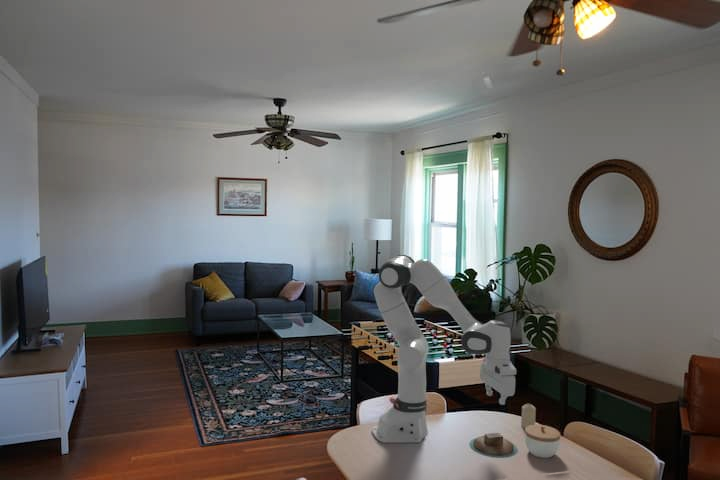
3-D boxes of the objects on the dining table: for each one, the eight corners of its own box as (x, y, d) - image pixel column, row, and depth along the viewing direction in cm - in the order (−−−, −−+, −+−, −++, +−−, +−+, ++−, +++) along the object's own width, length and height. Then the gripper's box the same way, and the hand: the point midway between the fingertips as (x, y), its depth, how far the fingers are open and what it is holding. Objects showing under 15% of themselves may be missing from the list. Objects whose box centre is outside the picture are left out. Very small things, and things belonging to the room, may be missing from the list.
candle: (535, 431, 230) (536, 407, 229) (521, 429, 231) (522, 406, 231) (534, 426, 236) (535, 402, 235) (520, 424, 237) (521, 401, 236)
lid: (485, 457, 204) (485, 445, 204) (466, 440, 219) (466, 429, 218) (521, 453, 208) (522, 441, 208) (500, 436, 223) (501, 425, 222)
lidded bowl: (559, 465, 201) (561, 435, 200) (523, 459, 205) (524, 430, 204) (558, 450, 213) (560, 422, 212) (524, 445, 217) (525, 417, 216)
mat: (483, 461, 202) (483, 459, 202) (461, 440, 220) (461, 438, 220) (527, 456, 207) (527, 454, 207) (502, 436, 225) (502, 434, 224)
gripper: (476, 356, 220) (475, 390, 221) (503, 372, 200) (501, 410, 201) (491, 355, 222) (489, 389, 223) (519, 371, 202) (517, 408, 203)
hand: (495, 399), depth 212 cm, fingers open, 8 cm apart
